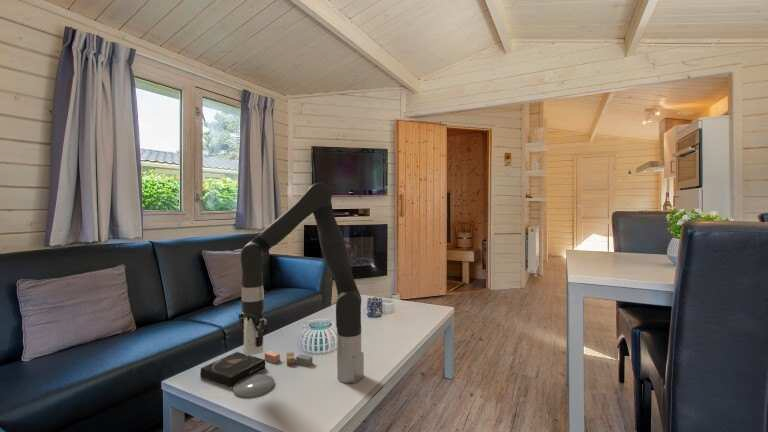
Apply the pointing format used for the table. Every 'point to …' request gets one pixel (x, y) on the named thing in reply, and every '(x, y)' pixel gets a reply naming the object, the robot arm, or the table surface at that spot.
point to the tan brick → (290, 358)
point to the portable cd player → (232, 369)
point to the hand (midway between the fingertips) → (253, 344)
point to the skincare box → (251, 340)
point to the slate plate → (253, 385)
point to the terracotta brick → (272, 356)
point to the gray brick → (304, 360)
